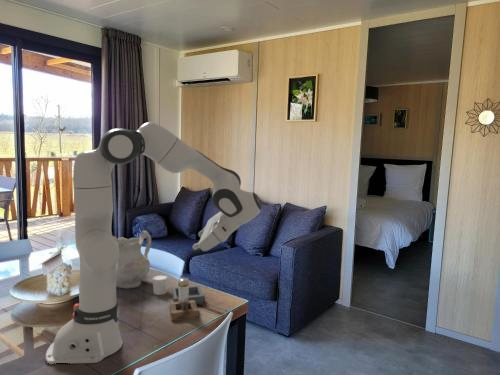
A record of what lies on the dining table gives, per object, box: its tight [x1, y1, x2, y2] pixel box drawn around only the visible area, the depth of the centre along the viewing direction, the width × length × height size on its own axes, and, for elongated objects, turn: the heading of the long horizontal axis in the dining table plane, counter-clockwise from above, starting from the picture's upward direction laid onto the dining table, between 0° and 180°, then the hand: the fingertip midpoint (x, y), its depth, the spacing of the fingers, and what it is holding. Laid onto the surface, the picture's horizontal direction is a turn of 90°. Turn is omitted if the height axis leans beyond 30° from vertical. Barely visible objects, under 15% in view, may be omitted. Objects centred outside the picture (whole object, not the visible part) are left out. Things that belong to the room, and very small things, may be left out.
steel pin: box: [177, 277, 190, 310], centre depth 146 cm, size 4×4×14 cm
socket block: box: [169, 300, 199, 322], centre depth 146 cm, size 10×10×3 cm
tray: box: [171, 285, 205, 306], centre depth 159 cm, size 12×12×4 cm
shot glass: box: [151, 274, 169, 296], centre depth 167 cm, size 7×7×7 cm
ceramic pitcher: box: [112, 229, 152, 290], centre depth 176 cm, size 22×20×25 cm
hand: (196, 241), depth 142 cm, fingers open, 8 cm apart
